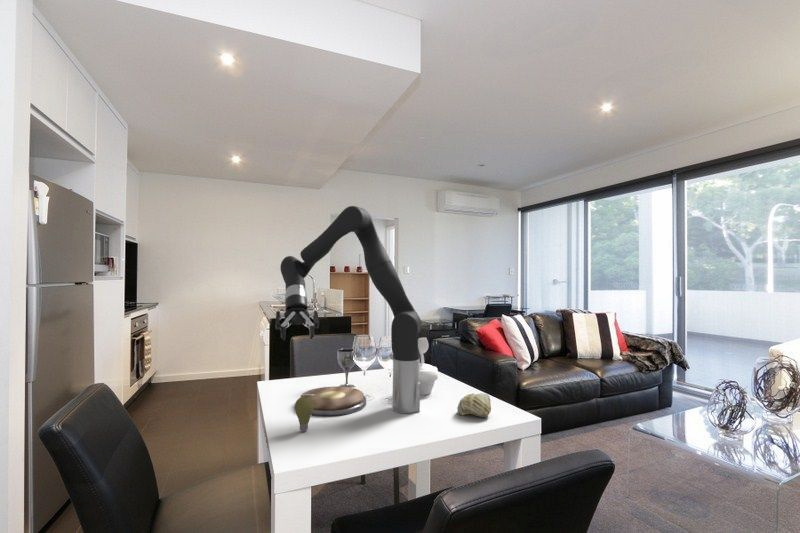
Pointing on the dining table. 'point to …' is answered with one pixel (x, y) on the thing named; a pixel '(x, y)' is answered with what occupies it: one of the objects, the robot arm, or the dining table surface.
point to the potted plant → (426, 369)
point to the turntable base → (340, 412)
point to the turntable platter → (334, 397)
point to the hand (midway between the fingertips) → (298, 338)
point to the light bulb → (304, 411)
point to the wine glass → (346, 363)
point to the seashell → (475, 405)
